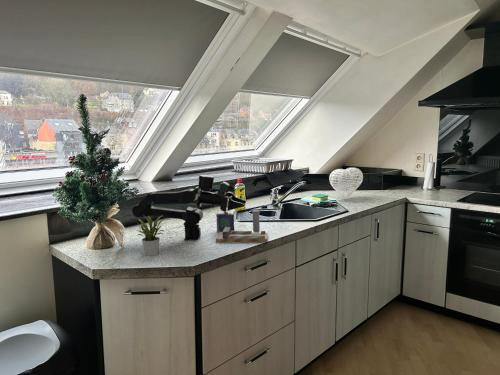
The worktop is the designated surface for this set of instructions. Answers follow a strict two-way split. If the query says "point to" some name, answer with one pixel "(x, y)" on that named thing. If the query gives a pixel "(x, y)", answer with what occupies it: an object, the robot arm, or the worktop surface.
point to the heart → (341, 171)
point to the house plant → (150, 236)
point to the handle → (256, 223)
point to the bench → (240, 236)
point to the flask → (225, 221)
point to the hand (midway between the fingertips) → (245, 203)
